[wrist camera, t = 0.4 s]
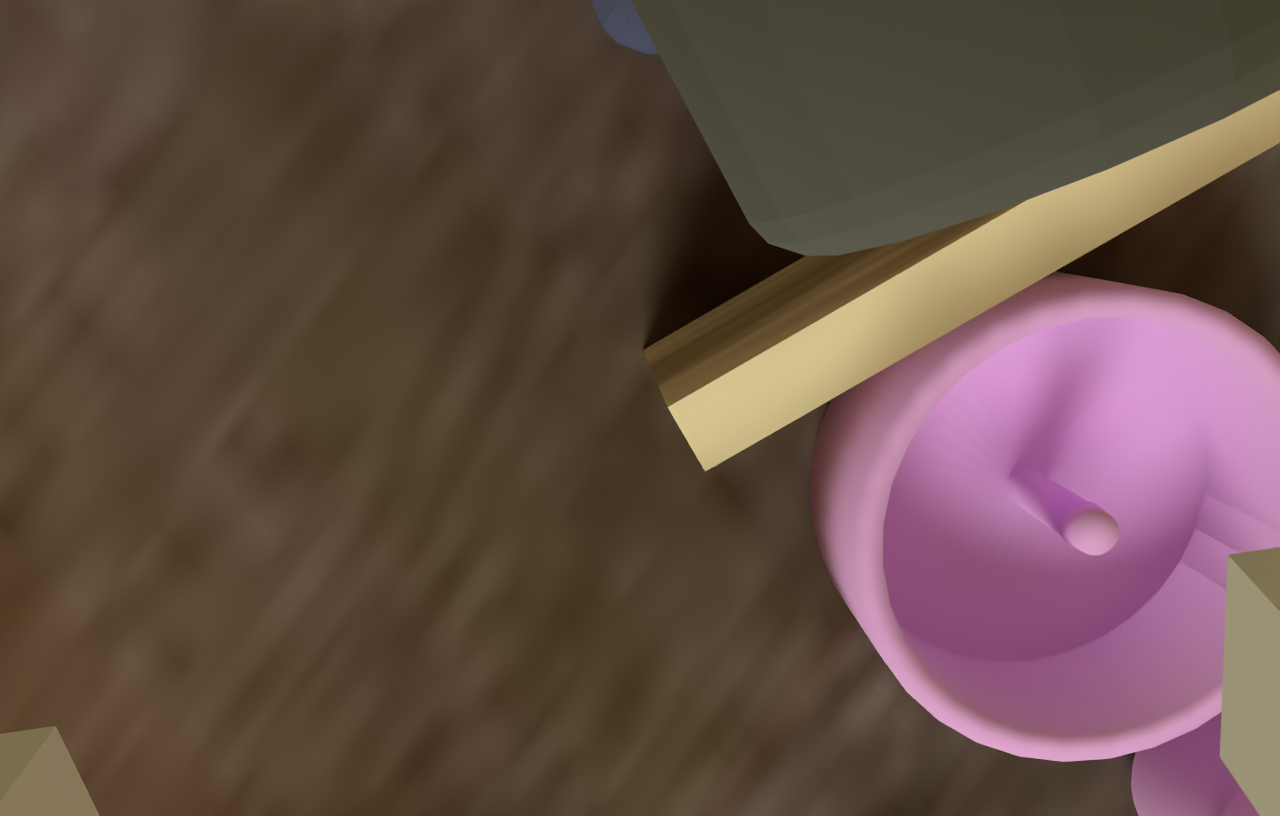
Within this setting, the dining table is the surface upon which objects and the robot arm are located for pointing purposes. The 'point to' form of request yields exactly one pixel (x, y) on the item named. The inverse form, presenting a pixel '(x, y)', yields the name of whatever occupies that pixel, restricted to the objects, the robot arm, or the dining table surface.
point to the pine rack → (912, 291)
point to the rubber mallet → (940, 99)
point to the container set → (1062, 525)
